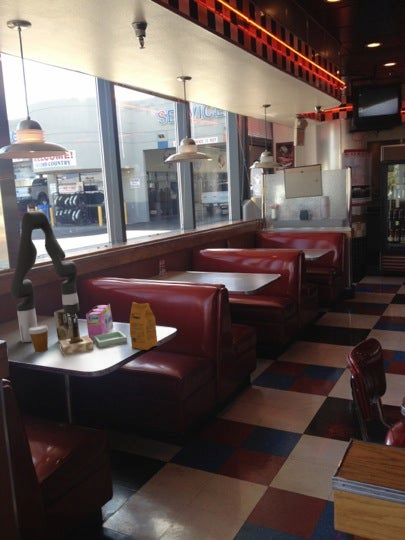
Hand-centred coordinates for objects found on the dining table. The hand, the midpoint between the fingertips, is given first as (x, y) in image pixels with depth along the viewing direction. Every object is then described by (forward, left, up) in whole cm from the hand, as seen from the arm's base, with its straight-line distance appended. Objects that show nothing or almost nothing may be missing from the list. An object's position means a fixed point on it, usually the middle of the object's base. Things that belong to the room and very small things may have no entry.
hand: (74, 335), depth 247 cm
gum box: (+17, +22, -7) cm, 29 cm away
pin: (0, 0, -5) cm, 5 cm away
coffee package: (+29, -20, -7) cm, 36 cm away
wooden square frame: (0, 0, -7) cm, 7 cm away
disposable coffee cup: (-16, +10, -7) cm, 20 cm away
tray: (+17, 0, -7) cm, 18 cm away
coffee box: (-1, +21, -7) cm, 22 cm away
